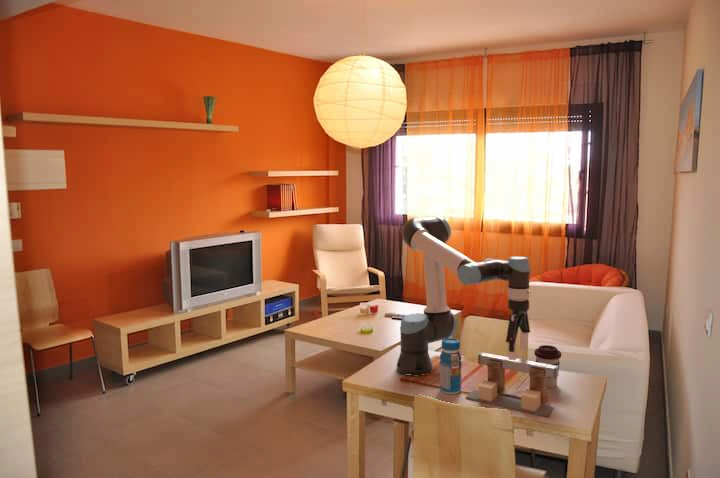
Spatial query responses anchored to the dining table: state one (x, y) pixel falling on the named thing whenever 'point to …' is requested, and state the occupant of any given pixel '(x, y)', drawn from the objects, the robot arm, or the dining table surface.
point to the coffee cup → (548, 360)
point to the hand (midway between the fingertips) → (518, 354)
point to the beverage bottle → (450, 366)
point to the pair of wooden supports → (536, 384)
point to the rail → (519, 364)
